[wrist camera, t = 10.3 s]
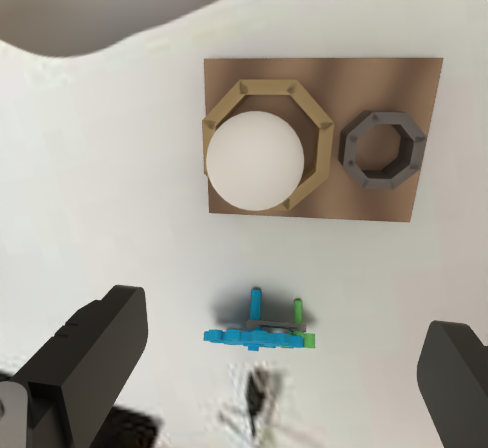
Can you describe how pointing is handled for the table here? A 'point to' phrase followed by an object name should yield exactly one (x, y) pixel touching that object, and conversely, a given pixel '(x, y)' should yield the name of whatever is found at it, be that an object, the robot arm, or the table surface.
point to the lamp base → (334, 128)
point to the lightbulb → (255, 160)
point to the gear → (261, 338)
